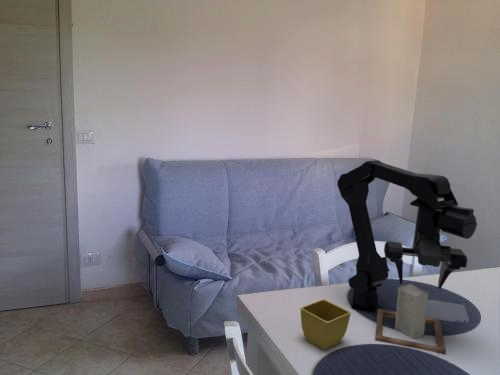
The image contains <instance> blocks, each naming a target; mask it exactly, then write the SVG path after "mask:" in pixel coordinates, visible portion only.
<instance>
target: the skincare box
mask: <svg viewBox="0 0 500 375" xmlns="http://www.w3.org/2000/svg"><path fill="white" fill-rule="evenodd" d="M428 299H429V292H427V291H425V290H423V289H422V288H419V287H418V286H415V285H413V284H412V283H411V284H405V285H404V284H403V285H400V286H398V289H397V300H396V311H395V312H396V319H395V323H394V329H395V330H396V331H398V332H399V333H401V334H402V335H405V336H406V337H409V338H410V339H412V340H415V339H419V338H422V337H424V336H425V328H426V324H425V320H426V311H427V301H428Z"/></svg>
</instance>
